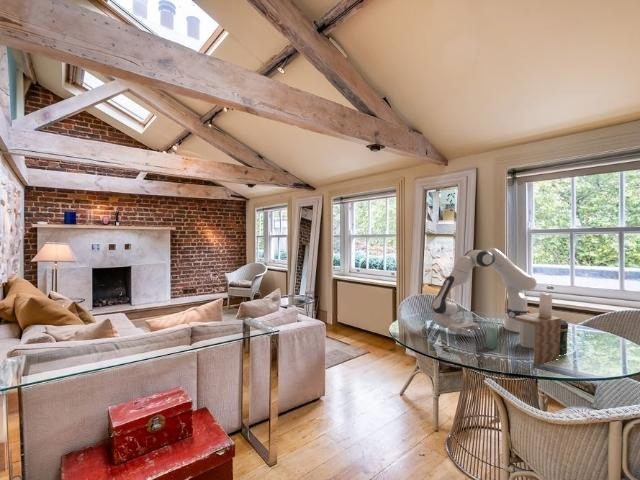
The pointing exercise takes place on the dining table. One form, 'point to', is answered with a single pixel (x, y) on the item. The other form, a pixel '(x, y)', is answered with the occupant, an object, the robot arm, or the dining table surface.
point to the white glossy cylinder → (545, 305)
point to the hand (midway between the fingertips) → (474, 330)
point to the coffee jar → (563, 337)
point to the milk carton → (527, 335)
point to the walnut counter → (544, 336)
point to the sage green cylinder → (491, 337)
